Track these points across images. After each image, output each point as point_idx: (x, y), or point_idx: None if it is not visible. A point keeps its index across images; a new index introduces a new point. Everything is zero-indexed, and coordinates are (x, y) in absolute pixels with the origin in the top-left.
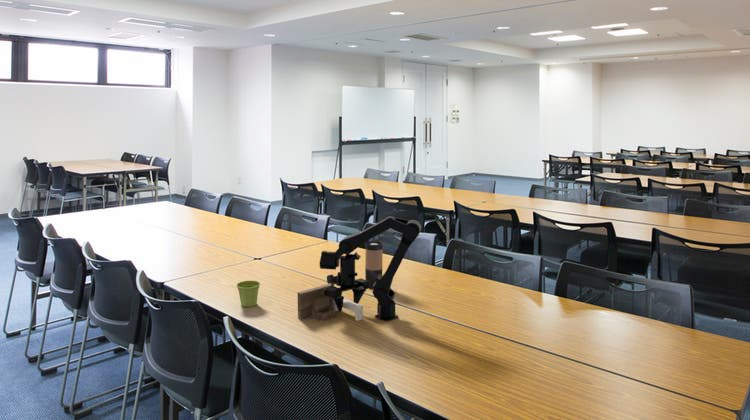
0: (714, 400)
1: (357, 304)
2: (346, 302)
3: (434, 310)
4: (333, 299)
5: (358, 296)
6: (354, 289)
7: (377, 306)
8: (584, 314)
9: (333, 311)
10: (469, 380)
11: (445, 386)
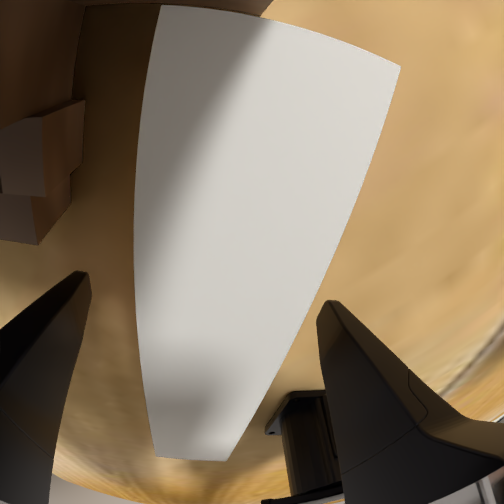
0: None
1: (222, 444)
2: (181, 383)
3: None
4: (163, 30)
5: (348, 457)
6: (434, 493)
7: (332, 439)
8: None
9: (21, 237)
10: (140, 494)
11: (102, 486)
